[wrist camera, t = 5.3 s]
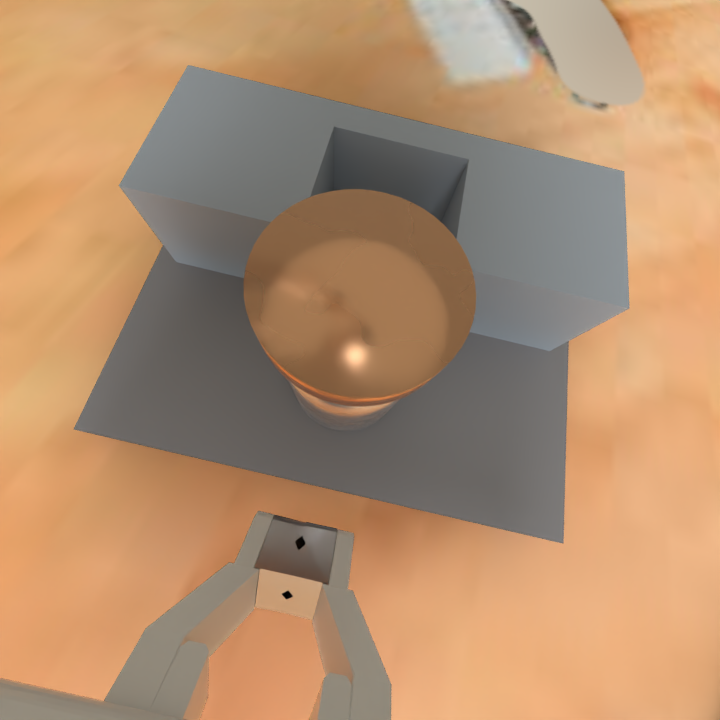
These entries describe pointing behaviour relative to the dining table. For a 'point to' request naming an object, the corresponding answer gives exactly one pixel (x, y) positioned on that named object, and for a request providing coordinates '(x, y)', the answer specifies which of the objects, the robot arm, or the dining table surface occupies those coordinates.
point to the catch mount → (444, 391)
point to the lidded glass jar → (358, 302)
